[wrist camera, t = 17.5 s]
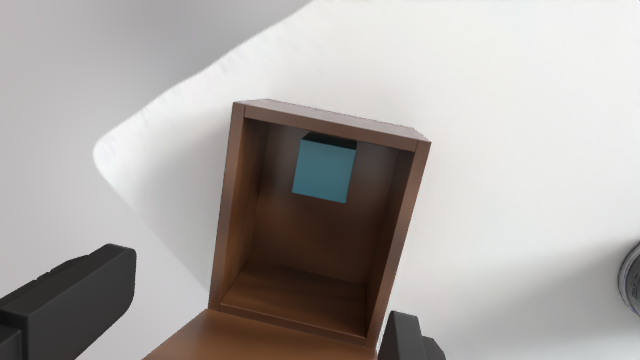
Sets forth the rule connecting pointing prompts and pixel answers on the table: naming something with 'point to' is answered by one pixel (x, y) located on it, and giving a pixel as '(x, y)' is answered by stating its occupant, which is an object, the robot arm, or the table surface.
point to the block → (324, 167)
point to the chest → (312, 223)
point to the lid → (251, 342)
